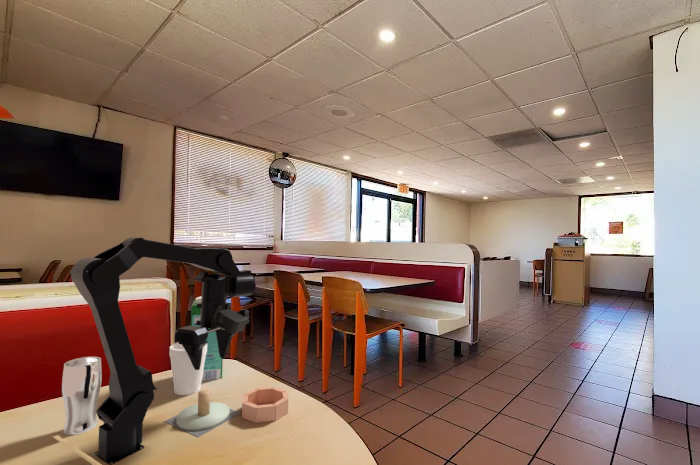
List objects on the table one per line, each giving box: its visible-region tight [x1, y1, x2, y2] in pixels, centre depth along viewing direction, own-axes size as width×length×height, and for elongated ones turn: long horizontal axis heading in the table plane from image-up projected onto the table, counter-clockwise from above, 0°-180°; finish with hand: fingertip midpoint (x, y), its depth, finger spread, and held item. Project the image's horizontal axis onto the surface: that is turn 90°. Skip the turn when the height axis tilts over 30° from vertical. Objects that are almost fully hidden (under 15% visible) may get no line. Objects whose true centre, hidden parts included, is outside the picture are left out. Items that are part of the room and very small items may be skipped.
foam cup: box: [169, 342, 207, 396], centre depth 96 cm, size 10×9×13 cm
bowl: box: [241, 386, 289, 424], centre depth 86 cm, size 11×11×4 cm
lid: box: [176, 389, 231, 431], centre depth 82 cm, size 12×12×6 cm
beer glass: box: [61, 356, 103, 436], centre depth 77 cm, size 7×7×15 cm
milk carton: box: [190, 295, 224, 382], centre depth 107 cm, size 9×9×25 cm
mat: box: [163, 400, 242, 438], centre depth 82 cm, size 12×12×1 cm
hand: (210, 363), depth 84 cm, fingers open, 9 cm apart
